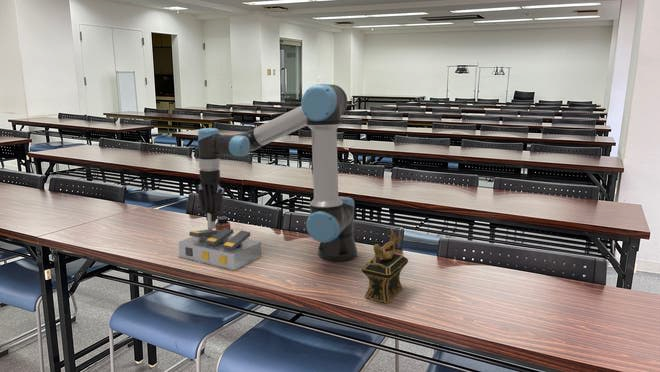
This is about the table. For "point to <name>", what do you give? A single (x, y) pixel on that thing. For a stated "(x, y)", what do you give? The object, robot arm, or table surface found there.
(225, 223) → the supplement bottle
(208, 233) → the switch
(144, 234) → the table surface
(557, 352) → the table surface
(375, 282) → the decorative box
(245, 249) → the console
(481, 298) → the table surface
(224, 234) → the switch
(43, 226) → the table surface
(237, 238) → the switch
